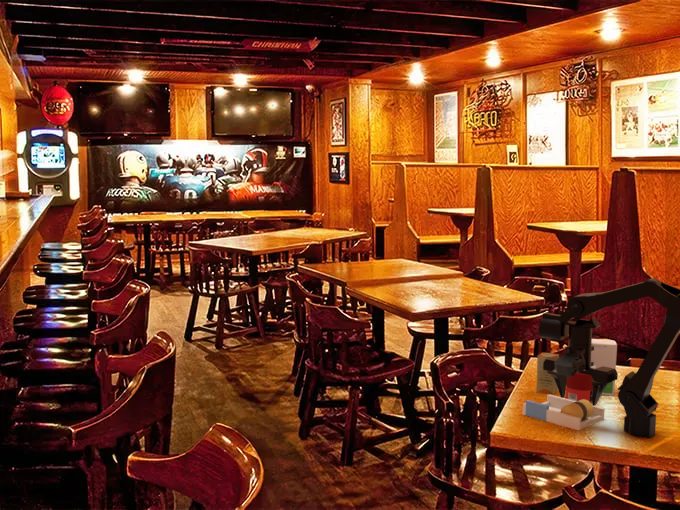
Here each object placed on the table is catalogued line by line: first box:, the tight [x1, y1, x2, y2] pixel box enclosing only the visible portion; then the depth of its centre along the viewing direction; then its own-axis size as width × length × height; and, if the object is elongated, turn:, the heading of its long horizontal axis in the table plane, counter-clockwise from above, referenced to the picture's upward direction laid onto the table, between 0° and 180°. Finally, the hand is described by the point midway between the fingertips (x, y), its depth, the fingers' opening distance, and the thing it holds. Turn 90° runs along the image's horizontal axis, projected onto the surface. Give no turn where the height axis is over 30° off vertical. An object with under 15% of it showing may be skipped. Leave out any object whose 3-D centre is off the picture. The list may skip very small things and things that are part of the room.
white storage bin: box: [522, 394, 605, 431], centre depth 204 cm, size 17×12×5 cm
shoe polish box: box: [536, 351, 560, 395], centre depth 227 cm, size 5×5×12 cm
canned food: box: [565, 365, 596, 404], centre depth 219 cm, size 8×8×11 cm
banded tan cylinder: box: [561, 399, 593, 420], centre depth 201 cm, size 8×5×5 cm, turn 132°
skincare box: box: [591, 338, 618, 397], centre depth 229 cm, size 8×7×16 cm
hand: (578, 401), depth 200 cm, fingers open, 9 cm apart
